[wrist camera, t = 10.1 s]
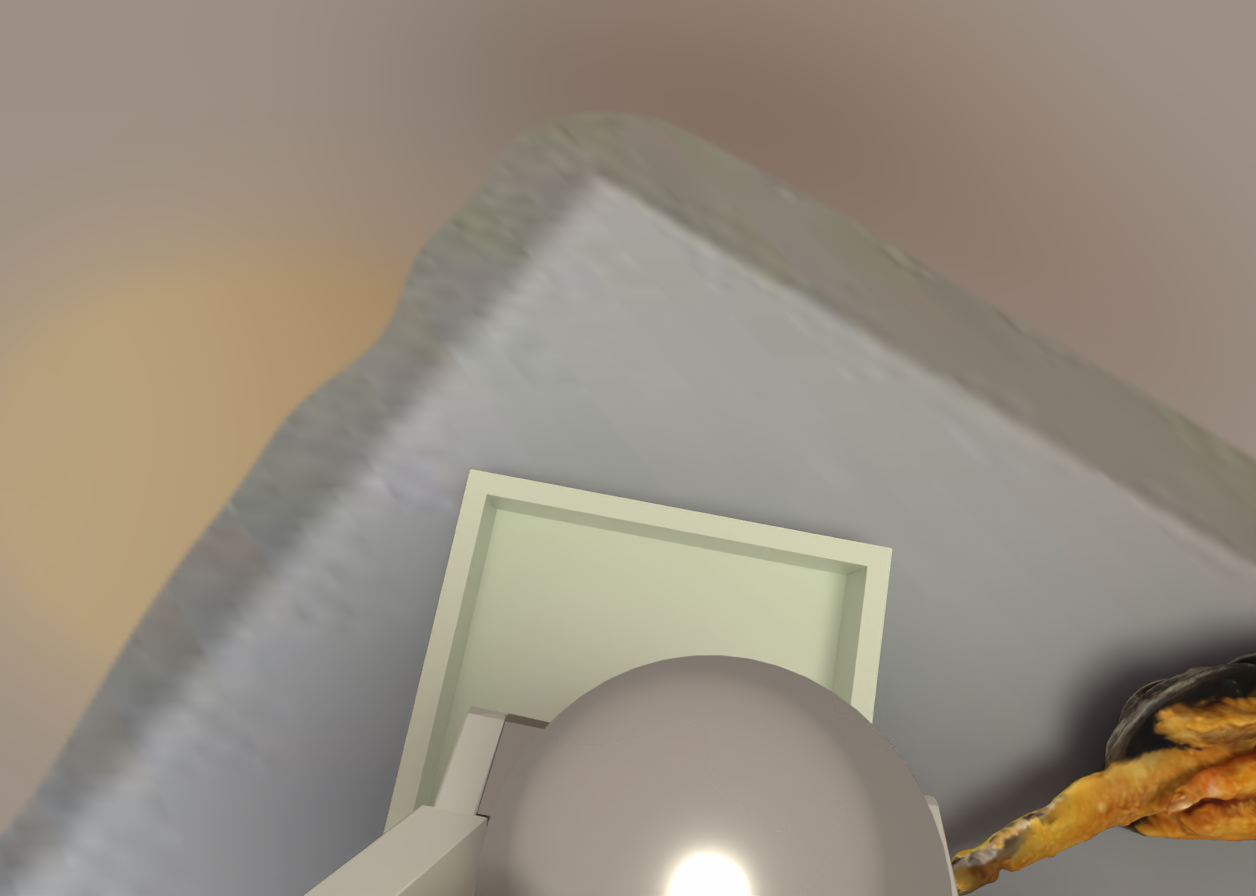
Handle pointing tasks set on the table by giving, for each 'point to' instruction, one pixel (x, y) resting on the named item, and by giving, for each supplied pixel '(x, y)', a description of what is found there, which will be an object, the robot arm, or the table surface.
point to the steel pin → (711, 794)
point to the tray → (625, 608)
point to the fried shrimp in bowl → (1149, 776)
